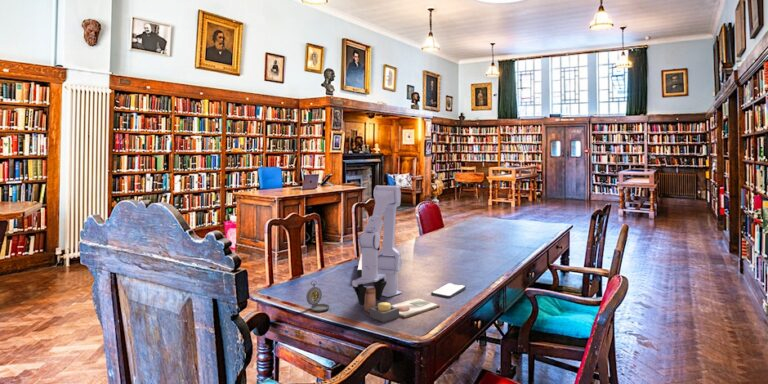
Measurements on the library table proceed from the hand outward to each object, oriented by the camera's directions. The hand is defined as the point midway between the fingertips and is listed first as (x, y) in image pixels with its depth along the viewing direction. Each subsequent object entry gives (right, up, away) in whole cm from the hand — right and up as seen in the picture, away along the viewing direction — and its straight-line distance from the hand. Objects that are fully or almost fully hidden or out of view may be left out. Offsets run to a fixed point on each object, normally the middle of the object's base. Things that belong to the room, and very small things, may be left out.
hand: (369, 302), depth 162 cm
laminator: (-2, +1, +53) cm, 53 cm away
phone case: (+32, -2, +22) cm, 38 cm away
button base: (+5, -3, -7) cm, 9 cm away
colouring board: (+15, -3, +1) cm, 15 cm away
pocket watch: (-19, -3, +2) cm, 19 cm away
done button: (+5, -2, -7) cm, 9 cm away
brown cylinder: (0, -3, 0) cm, 3 cm away
